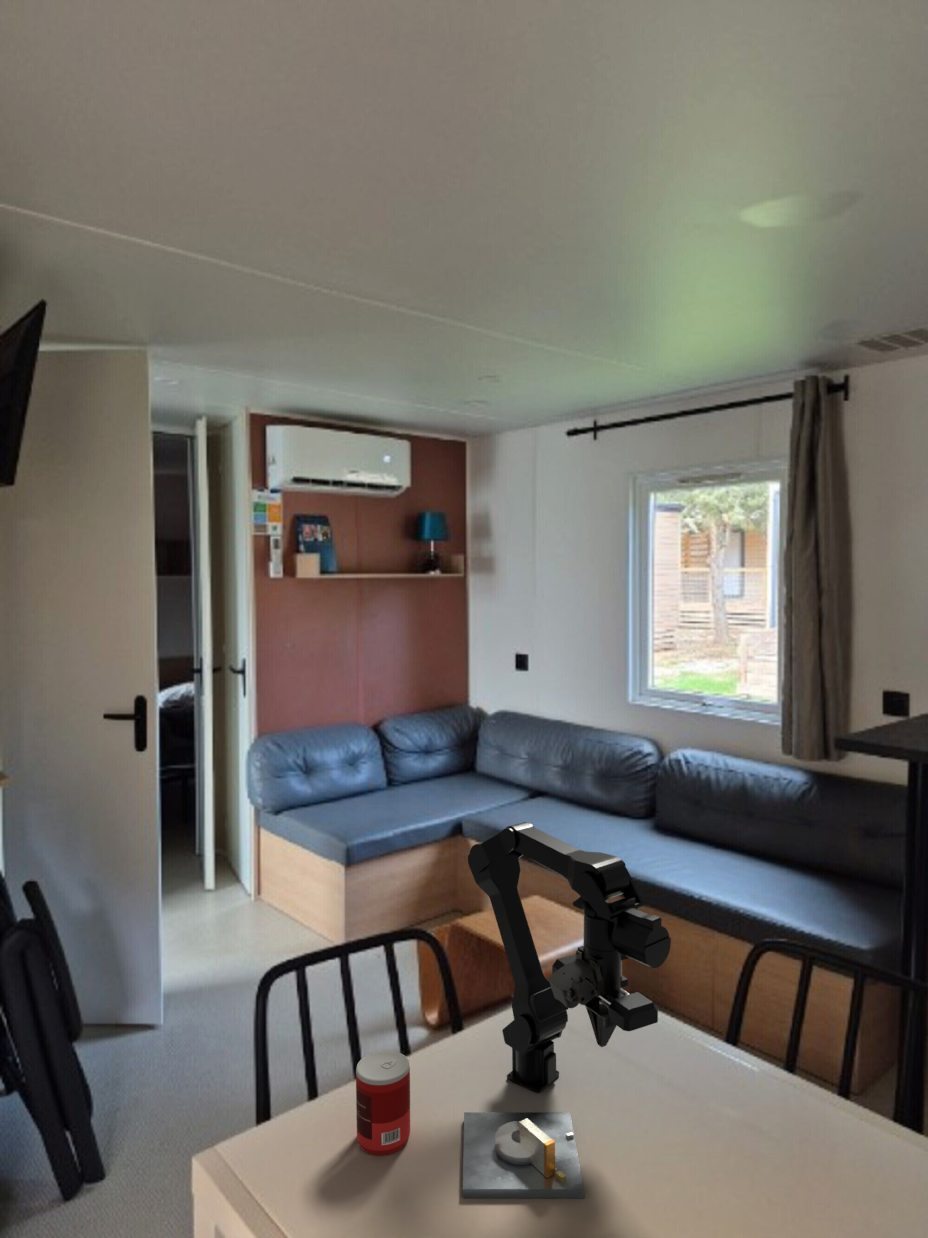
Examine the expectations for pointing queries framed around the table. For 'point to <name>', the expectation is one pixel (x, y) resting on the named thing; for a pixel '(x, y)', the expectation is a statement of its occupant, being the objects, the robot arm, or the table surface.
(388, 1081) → the canned food
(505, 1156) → the dial
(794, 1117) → the table surface
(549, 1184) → the panel
